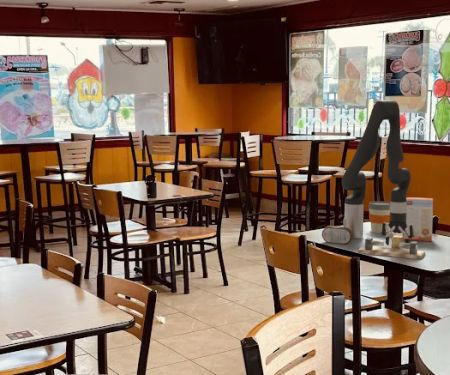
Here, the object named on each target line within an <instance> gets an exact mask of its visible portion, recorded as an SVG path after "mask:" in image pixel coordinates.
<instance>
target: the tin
mask: <svg viewBox="0 0 450 375" xmlns="http://www.w3.org/2000/svg"><path fill="white" fill-rule="evenodd" d="M321 237H322V239H323V240H324V242H325V243H327V244H335V245H348V244H350V243H351V242H352V240H354V239H353V233H352V231H351V230H350V229H349V228H347V227H343V226H338V225H327V226H325V227H324V228H323V229H322V232H321Z"/></svg>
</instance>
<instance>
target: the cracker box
mask: <svg viewBox="0 0 450 375" xmlns="http://www.w3.org/2000/svg"><path fill="white" fill-rule="evenodd" d="M406 204H407V215H406V224H407V225H411V224H413V232H414V236H413V237H412V238H409V241H416V242H418V241H421V242H432V240H433V212H434V198H433V197H431V198H430V197H413V196H412V197H411V196H410V197H406ZM405 230H406V231H407V233H408V235H410V230H409V229H408V227H407V228H406V229H405ZM402 236H403V241H405V239H406V237H405V236H404V235H403V234H402Z"/></svg>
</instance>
